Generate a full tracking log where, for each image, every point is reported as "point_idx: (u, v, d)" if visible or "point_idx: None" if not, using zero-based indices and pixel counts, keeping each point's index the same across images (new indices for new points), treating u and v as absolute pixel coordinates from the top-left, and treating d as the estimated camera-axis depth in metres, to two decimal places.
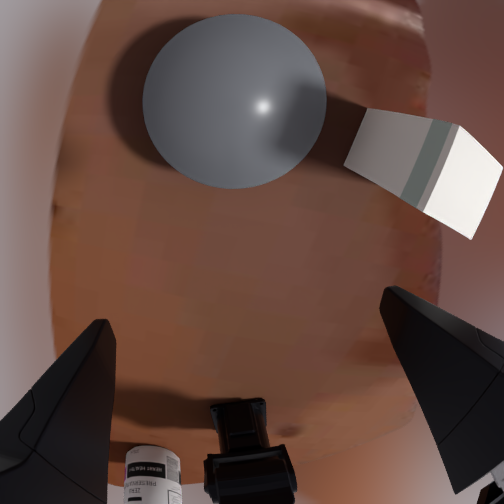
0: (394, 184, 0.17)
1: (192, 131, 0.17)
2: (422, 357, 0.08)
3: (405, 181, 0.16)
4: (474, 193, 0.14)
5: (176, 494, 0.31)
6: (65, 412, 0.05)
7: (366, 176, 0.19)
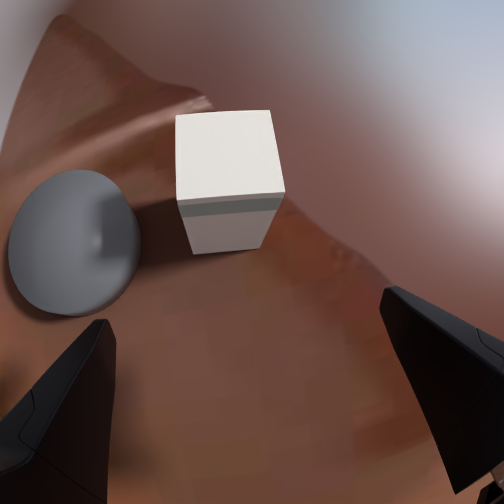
0: None
1: (41, 274, 0.19)
2: (422, 357, 0.08)
3: None
4: (242, 149, 0.15)
5: None
6: (65, 412, 0.05)
7: (188, 238, 0.20)
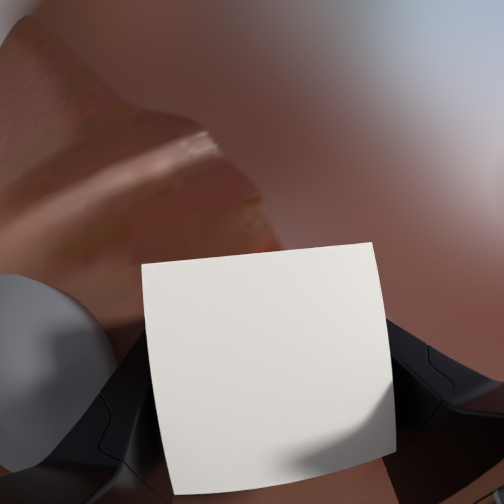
0: None
1: None
2: None
3: None
4: (316, 372, 0.06)
5: None
6: (145, 415, 0.05)
7: None
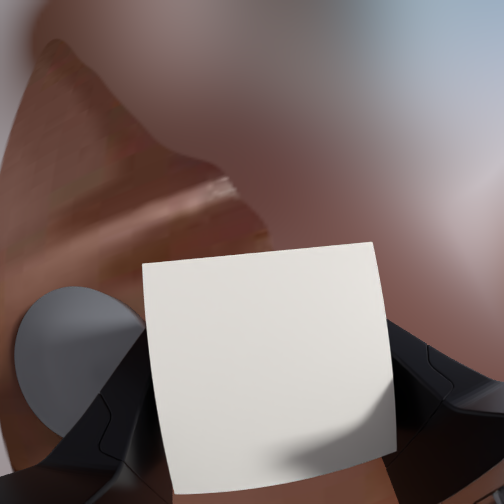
0: None
1: (58, 403, 0.16)
2: None
3: None
4: (316, 371, 0.06)
5: None
6: (144, 415, 0.05)
7: None
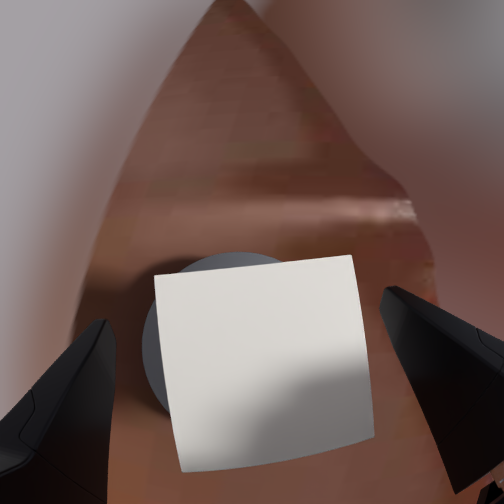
0: None
1: None
2: (422, 357, 0.08)
3: None
4: (301, 365, 0.07)
5: None
6: (65, 412, 0.05)
7: None
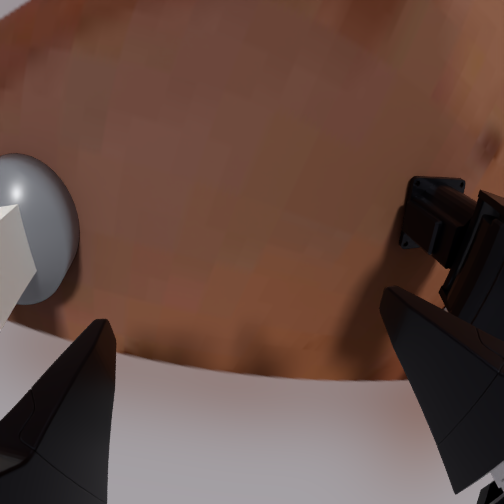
0: None
1: None
2: (422, 357, 0.08)
3: None
4: None
5: None
6: (65, 412, 0.05)
7: (15, 303, 0.15)
